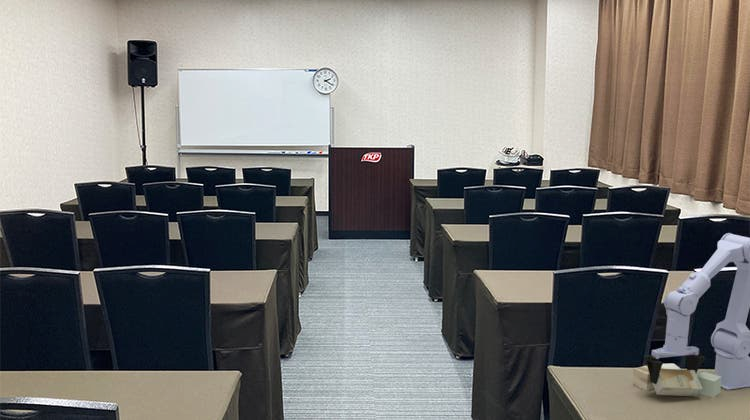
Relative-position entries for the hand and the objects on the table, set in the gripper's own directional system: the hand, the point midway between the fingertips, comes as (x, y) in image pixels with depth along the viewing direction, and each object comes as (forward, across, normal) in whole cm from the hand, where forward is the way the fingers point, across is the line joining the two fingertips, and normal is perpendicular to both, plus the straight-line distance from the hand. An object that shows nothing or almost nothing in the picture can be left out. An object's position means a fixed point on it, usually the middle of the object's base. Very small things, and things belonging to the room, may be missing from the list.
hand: (672, 380), depth 202 cm
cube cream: (+4, -5, -7) cm, 9 cm away
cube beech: (+4, +3, -7) cm, 9 cm away
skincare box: (0, -6, +2) cm, 6 cm away
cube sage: (+4, -10, +3) cm, 11 cm away
